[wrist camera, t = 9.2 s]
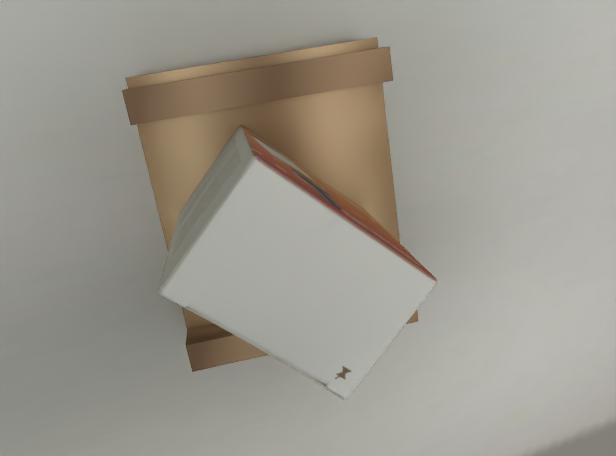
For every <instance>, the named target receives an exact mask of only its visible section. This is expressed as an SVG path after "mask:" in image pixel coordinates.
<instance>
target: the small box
mask: <svg viewBox="0 0 616 456" xmlns="http://www.w3.org/2000/svg"><path fill="white" fill-rule="evenodd" d="M436 283H437V279H436V278H435V277H434V276H433V275H432V274H431V273H430V272H429V271H427V270H426V269H425V268H424V267H423V266H422V265H421V264H420V263H419V262H418V261H417V260H416V259H415V258H414V257H413V256H412V255H411V254H410V253H409V252H408V251H407V250H406V249H405V248H404V247H403V246H402V245H401V244H400V243H399V242H398V241H397V240H396V239H395V238H394V237H393V236H392V235H391V234H390V233H389V232H388V231H387V230H386V229H384V228H383V227H382V226H381V225H380V224H379V223H378V222H377V221H376V220H375V219H374V218H373V217H372V216H371V215H370V214H369V213H368V212H367V211H366V210H365V209H363V208H362V207H361V206H359V205H357V204H356V203H354V202H353V201H351V200H350V199H348V198H347V197H345V196H344V195H342V194H341V193H339V192H338V191H336V190H334V189H333V188H332V187H330V186H329V185H327V184H326V183H324V182H323V181H321V180H320V179H319V178H317V177H316V176H314V175H313V174H312V173H310V172H309V171H307V170H306V169H305V168H303V167H302V166H300V165H299V164H298V163H296V162H295V161H293V160H292V159H291V158H289V157H288V156H286V155H285V154H284V153H282V152H281V151H279V150H278V149H276V148H275V147H274V146H272V145H271V144H269V143H268V142H267V141H265V140H264V139H262V138H261V137H259V136H258V135H257V134H255V133H254V132H252V131H251V130H249V129H248V128H247V127H245V126H243V125H240V126H239V127H238V128H237V130H236V131H235V132H234V134H233V135H232V137H231V138H230V139H229V141H228V142H227V144H226V145H225V147H224V148H223V149H222V151H221V152H220V154H219V155H218V157H217V158H216V160H215V161H214V163H213V164H212V165H211V167H210V168H209V170H208V171H207V173H206V174H205V176H204V177H203V179H202V180H201V182H200V183H199V185H198V186H197V187H196V189H195V190H194V192H193V193H192V195H191V196H190V198H189V199H188V201H187V202H186V204H185V205H184V207H183V208H182V210H181V211H180V213H179V217H178V221H177V224H176V228H175V231H174V234H173V238H172V241H171V245H170V249H169V252H168V256H167V260H166V264H165V267H164V271H163V274H162V278H161V281H160V285H159V288H158V293H159V295H160V296H162V297H164V298H166V299H168V300H170V301H172V302H174V303H176V304H178V305H180V306H182V307H184V308H186V309H188V310H190V311H192V312H194V313H196V314H198V315H199V316H201V317H203V318H205V319H207V320H209V321H210V322H212V323H214V324H216V325H218V326H219V327H221V328H223V329H225V330H227V331H228V332H230V333H232V334H234V335H236V336H237V337H239V338H241V339H243V340H244V341H246V342H248V343H250V344H251V345H253V346H255V347H257V348H259V349H260V350H262V351H264V352H266V353H267V354H269V355H271V356H273V357H274V358H276V359H278V360H280V361H281V362H283V363H285V364H287V365H289V366H290V367H292V368H293V369H295V370H297V371H299V372H300V373H302V374H304V375H305V376H307V377H309V378H310V379H312V380H314V381H315V382H317V383H319V384H320V385H322V386H323V387H324V388H326V389H327V390H329V391H331V392H332V393H334V394H335V395H337V396H338V397H340V398H342V399H343V400H346V399H347V398H348V397H349V396H350V394H351V393H352V392H353V391H354V389H355V388H356V387H357V385H358V384H359V383H360V382H361V380H362V379H363V378H364V377H365V375H366V374H367V373H368V371H369V370H370V369H371V368H372V366H373V365H374V364H375V363H376V361H377V360H378V359H379V357H380V356H381V355H382V354H383V352H384V351H385V350H386V348H387V347H388V346H389V345H390V343H391V342H392V341H393V339H394V338H395V337H396V335H397V334H398V333H399V332H400V330H401V329H402V328H403V327H404V325H405V324H406V323H407V321H408V320H409V319H410V318H411V316H412V315H413V314H414V312H415V311H416V310H417V309H418V307H419V306H420V305H421V303H422V302H423V301H424V299H425V298H426V297H427V295H428V294H429V293H430V291H431V290H432V289H433V288H434V286H435V285H436Z"/></svg>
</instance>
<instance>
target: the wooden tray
mask: <svg viewBox="0 0 616 456" xmlns="http://www.w3.org/2000/svg"><path fill="white" fill-rule="evenodd" d="M392 80H393V75H392V66H391V56H390V47H382V48H378V41H377V37H375V38H369V39H363V40H357V41H350V42H344V43H338V44H332V45H326V46H320V47H313V48H307V49H301V50H295V51H289V52H282V53H276V54H270V55H264V56H258V57H252V58H245V59H239V60H233V61H227V62H221V63H214V64H208V65H202V66H196V67H190V68H184V69H177V70H171V71H165V72H159V73H153V74H146V75H140V76H134V77H128V78H126V82H127V86H128V89H126V90H122V92H123V96H124V100H125V104H126V108H127V112H128V116H129V120H130V124H131V125H136V124H137V126H138V131H139V135H140V139H141V143H142V147H143V151H144V155H145V159H146V163H147V167H148V171H149V175H150V179H151V183H152V187H153V191H154V196H155V200H156V204H157V208H158V212H159V216H160V220H161V224H162V228H163V232H164V236H165V240H166V244H167V248H168V252H169V249H170V245H171V241H172V238H173V234H174V231H175V228H176V224H177V221H178V217H179V213H180V211H181V210H182V208H183V207H184V205H185V204H186V202H187V201H188V199H189V198H190V196H191V195H192V193H193V192H194V190H195V189H196V187H197V186H198V185H199V183H200V182H201V180H202V179H203V177H204V176H205V174H206V173H207V171H208V170H209V168H210V167H211V165H212V164H213V163H214V161H215V160H216V158H217V157H218V155H219V154H220V152H221V151H222V149H223V148H224V147H225V145H226V144H227V142H228V141H229V139H230V138H231V137H232V135H233V134H234V132H235V131H236V130H237V128H238V127H239V126H240V125H243V126H245V127H247V128H248V129H249V130H251V131H252V132H254V133H255V134H257V135H258V136H259V137H261V138H262V139H264V140H265V141H267V142H268V143H269V144H271V145H272V146H274V147H275V148H276V149H278V150H279V151H281V152H282V153H284V154H285V155H286V156H288V157H289V158H291V159H292V160H293V161H295V162H296V163H298V164H299V165H300V166H302V167H303V168H305V169H306V170H307V171H309V172H310V173H312V174H313V175H314V176H316V177H317V178H319V179H320V180H321V181H323V182H324V183H326V184H327V185H329V186H330V187H332V188H333V189H334V190H336V191H338V192H339V193H341V194H342V195H344V196H345V197H347V198H348V199H350V200H351V201H353V202H354V203H356V204H357V205H359V206H361V207H362V208H363V209H365V210H366V211H367V212H368V213H369V214H370V215H371V216H372V217H373V218H374V219H375V220H376V221H377V222H378V223H379V224H380V225H381V226H382V227H383V228H384V229H386V230H387V231H388V232H389V233H390V234H391V235H392V236H393V237H394V238H395V239H396V240H397V241H398V242H399V243H400V240H399V231H398V222H397V213H396V203H395V194H394V185H393V176H392V167H391V158H390V149H389V140H388V131H387V122H386V113H385V104H384V95H383V86H382V82H386V81H392ZM182 309H183V313H184V317H185V321H186V325H187V339H186V348H187V352H188V356H189V360H190V364H191V368H192V372H193V371H198V370H202V369H207V368H211V367H215V366H220V365H224V364H229V363H233V362H238V361H242V360H247V359H251V358H256V357H260V356H265V355H269V354H267V353H266V352H264V351H262V350H260V349H259V348H257V347H255V346H253V345H251V344H250V343H248V342H246V341H244V340H243V339H241V338H239V337H237V336H236V335H234V334H232V333H230V332H228V331H227V330H225V329H223V328H221V327H219V326H218V325H216V324H214V323H212V322H210V321H209V320H207V319H205V318H203V317H201V316H199V315H198V314H196V313H194V312H192V311H190V310H188V309H186V308H184V307H182ZM417 321H418V314H417V310H416V311H415V312H414V314H413V315H412V316H411V318H410V319H409V320H408V321H407V323H406V324H408V323H413V322H417Z"/></svg>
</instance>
